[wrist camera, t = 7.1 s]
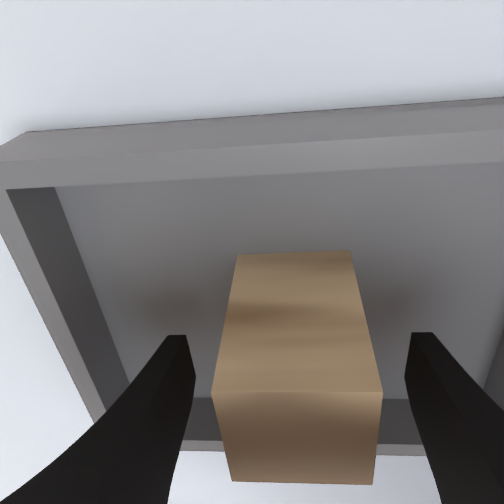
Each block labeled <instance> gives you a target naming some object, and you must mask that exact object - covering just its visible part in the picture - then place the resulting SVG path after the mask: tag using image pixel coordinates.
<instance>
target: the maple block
mask: <svg viewBox="0 0 504 504" xmlns="http://www.w3.org/2000/svg"><path fill="white" fill-rule="evenodd" d="M211 395H212V399H213V403H214V408H215V412H216V416H217V420H218V425H219V429H220V433H221V437H222V441H223V446H224V450H225V454H226V458H227V462H228V467H229V471H230V475H231V479H232V481H237V482H276V483H315V484H354V485H372V484H373V475H374V467H375V458H376V449H377V441H378V432H379V424H380V415H381V406H382V398H383V389H382V385H381V381H380V377H379V373H378V368H377V364H376V360H375V356H374V351H373V347H372V343H371V339H370V334H369V330H368V326H367V322H366V317H365V313H364V309H363V305H362V301H361V296H360V292H359V288H358V284H357V279H356V275H355V271H354V267H353V262H352V258H351V254H350V250H340V251H316V252H293V253H269V254H245V255H237V260H236V265H235V271H234V276H233V281H232V286H231V291H230V296H229V302H228V307H227V312H226V317H225V322H224V327H223V332H222V338H221V343H220V348H219V353H218V358H217V363H216V368H215V374H214V379H213V384H212V389H211Z"/></svg>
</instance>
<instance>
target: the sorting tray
mask: <svg viewBox="0 0 504 504" xmlns="http://www.w3.org/2000/svg"><path fill="white" fill-rule="evenodd" d="M0 234H1V236H2V238H3V240H4V242H5V244H6V246H7V248H8V250H9V252H10V254H11V256H12V258H13V260H14V262H15V264H16V266H17V268H18V270H19V272H20V274H21V276H22V278H23V280H24V282H25V284H26V286H27V288H28V290H29V292H30V294H31V296H32V298H33V300H34V302H35V305H36V307H37V309H38V311H39V313H40V315H41V317H42V319H43V321H44V323H45V325H46V327H47V329H48V331H49V333H50V335H51V337H52V339H53V341H54V343H55V345H56V347H57V349H58V351H59V353H60V355H61V357H62V359H63V361H64V363H65V365H66V367H67V369H68V371H69V373H70V375H71V377H72V379H73V382H74V384H75V386H76V388H77V390H78V392H79V394H80V396H81V398H82V400H83V402H84V404H85V406H86V408H87V410H88V412H89V414H90V416H91V418H92V420H93V422H94V423H95V422H96V421H97V420H98V419H99V418H100V417H101V416H102V415H103V414H104V413H105V412H106V411H107V410H108V409H109V408H110V407H111V405H112V404H113V403H114V402H115V401H116V400H117V399H118V397H119V396H120V395H121V394H122V393H123V392H124V391H125V389H126V388H127V387H128V386H129V385H130V383H131V382H132V381H133V380H134V378H135V377H136V376H137V375H138V373H139V372H140V371H141V370H142V368H143V367H144V366H145V365H146V363H147V362H148V361H149V359H150V358H151V357H152V355H153V354H154V353H155V351H156V350H157V349H158V347H159V346H160V345H161V343H162V342H163V341H164V339H165V338H166V337H167V336H168V335H186V336H187V341H188V345H189V349H190V353H191V357H192V361H193V365H194V369H195V373H196V382H195V389H194V396H193V402H192V407H191V411H190V415H189V419H188V422H187V426H186V430H185V433H184V437H183V441H182V444H181V448H180V451H219V452H225V450H224V446H223V441H222V437H221V433H220V429H219V425H218V420H217V416H216V412H215V408H214V403H213V399H212V395H211V389H212V384H213V379H214V374H215V368H216V363H217V358H218V353H219V348H220V343H221V338H222V332H223V327H224V322H225V317H226V312H227V307H228V302H229V296H230V291H231V286H232V281H233V276H234V271H235V265H236V260H237V255H245V254H269V253H293V252H316V251H340V250H350V254H351V258H352V262H353V267H354V271H355V275H356V279H357V284H358V288H359V292H360V296H361V301H362V305H363V309H364V313H365V317H366V322H367V326H368V330H369V334H370V339H371V343H372V347H373V351H374V356H375V360H376V364H377V368H378V373H379V377H380V381H381V385H382V389H383V398H382V406H381V415H380V424H379V432H378V441H377V449H376V455H397V456H427V455H426V452H425V449H424V446H423V443H422V440H421V437H420V435H419V432H418V429H417V426H416V423H415V420H414V417H413V414H412V411H411V407H410V403H409V398H408V394H407V389H406V384H405V379H404V374H405V368H406V362H407V356H408V350H409V344H410V338H411V332H433V333H434V334H435V335H436V337H437V338H438V339H439V340H440V341H441V343H442V344H443V345H444V346H445V347H446V349H447V350H448V351H449V352H450V353H451V355H452V356H453V357H454V358H455V359H456V360H457V362H458V363H459V364H460V365H461V366H462V367H463V368H464V370H465V371H466V372H467V373H468V374H469V375H470V376H471V377H472V378H473V379H474V381H475V382H476V383H477V384H478V385H479V386H480V387H481V388H482V389H483V390H484V391H485V392H486V393H487V394H488V395H489V396H490V397H491V398H492V400H493V401H494V402H495V403H496V404H497V405H498V406H499V407H501V408H502V409H503V410H504V97H501V98H487V99H473V100H459V101H446V102H432V103H418V104H405V105H391V106H377V107H364V108H350V109H336V110H323V111H309V112H295V113H281V114H268V115H254V116H240V117H227V118H213V119H199V120H186V121H172V122H158V123H145V124H131V125H117V126H103V127H90V128H76V129H62V130H49V131H35V132H25V133H24V134H22V135H20V136H18V137H16V138H14V139H12V140H10V141H9V142H7V143H5V144H3V145H1V146H0Z"/></svg>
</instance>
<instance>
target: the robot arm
mask: <svg viewBox="0 0 504 504" xmlns="http://www.w3.org/2000/svg"><path fill="white" fill-rule="evenodd" d="M404 379H405V384H406V389H407V394H408V398H409V403H410V407H411V411H412V414H413V417H414V420H415V423H416V426H417V429H418V432H419V435H420V437H421V440H422V443H423V446H424V449H425V452H426V455H427V458H428V461H429V464H430V467H431V470H432V472H433V475H434V478H435V481H436V485H437V488H438V491H439V495H440V498H441V503H442V504H504V410H503V409H502V408H501V407H499V406H498V405H497V404H496V403H495V402H494V401H493V400H492V398H491V397H490V396H489V395H488V394H487V393H486V392H485V391H484V390H483V389H482V388H481V387H480V386H479V385H478V384H477V383H476V382H475V381H474V379H473V378H472V377H471V376H470V375H469V374H468V373H467V372H466V371H465V370H464V368H463V367H462V366H461V365H460V364H459V363H458V362H457V360H456V359H455V358H454V357H453V356H452V355H451V353H450V352H449V351H448V350H447V349H446V347H445V346H444V345H443V344H442V343H441V341H440V340H439V339H438V338H437V337H436V335H435V334H434V333H433V332H411V338H410V344H409V350H408V356H407V362H406V368H405V374H404ZM195 382H196V373H195V369H194V365H193V361H192V357H191V353H190V349H189V345H188V341H187V336H186V335H168V336H167V337H166V338H165V339H164V341H163V342H162V343H161V345H160V346H159V347H158V349H157V350H156V351H155V353H154V354H153V355H152V357H151V358H150V359H149V361H148V362H147V363H146V365H145V366H144V367H143V368H142V370H141V371H140V372H139V373H138V375H137V376H136V377H135V378H134V380H133V381H132V382H131V383H130V385H129V386H128V387H127V388H126V389H125V391H124V392H123V393H122V394H121V395H120V396H119V397H118V399H117V400H116V401H115V402H114V403H113V404H112V405H111V407H110V408H109V409H108V410H107V411H106V412H105V413H104V414H103V415H102V416H101V417H100V418H99V419H98V420H97V421H96V422H95V423H94V424H93V425H92V426H91V427H90V428H89V429H88V430H87V431H86V432H85V433H84V434H83V435H82V436H81V437H80V438H79V439H78V440H77V441H76V442H75V443H74V444H72V445H71V446H70V447H69V448H68V449H67V450H66V451H65V452H64V453H62V454H61V455H60V456H59V457H58V458H57V459H55V460H54V461H53V462H52V463H51V464H50V465H48V466H47V467H46V468H44V469H43V470H42V471H41V472H39V473H38V474H37V475H36V476H34V477H33V478H32V479H31V480H29V481H28V482H27V483H25V484H24V485H23V486H21V487H20V488H19V489H17V490H16V491H15V492H13V493H12V494H11V495H9V496H8V497H6V498H5V499H3V500H2V501H0V504H167V502H168V497H169V491H170V486H171V482H172V478H173V473H174V470H175V466H176V462H177V459H178V455H179V451H180V448H181V444H182V441H183V437H184V433H185V430H186V426H187V422H188V419H189V415H190V411H191V407H192V402H193V396H194V389H195Z"/></svg>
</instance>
